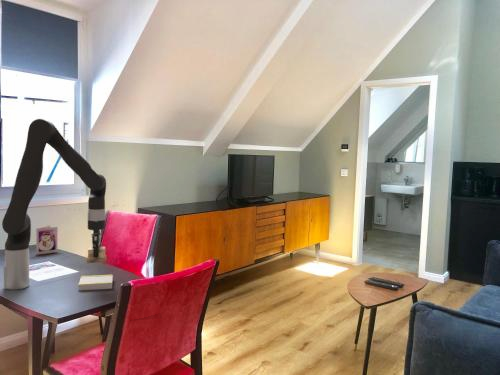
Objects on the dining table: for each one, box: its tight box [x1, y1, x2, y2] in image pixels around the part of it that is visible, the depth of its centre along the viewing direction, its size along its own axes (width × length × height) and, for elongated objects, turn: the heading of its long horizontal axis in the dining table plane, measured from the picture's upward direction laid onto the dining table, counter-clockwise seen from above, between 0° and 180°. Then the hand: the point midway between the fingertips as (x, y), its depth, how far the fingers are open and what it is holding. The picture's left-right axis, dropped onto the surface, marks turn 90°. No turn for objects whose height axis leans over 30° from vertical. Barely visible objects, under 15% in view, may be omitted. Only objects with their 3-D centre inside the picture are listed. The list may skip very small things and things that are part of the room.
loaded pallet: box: [86, 246, 107, 264], centre depth 186 cm, size 8×5×6 cm, turn 108°
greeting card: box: [35, 225, 58, 255], centre depth 240 cm, size 11×7×15 cm, turn 132°
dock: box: [77, 274, 114, 291], centre depth 187 cm, size 14×12×3 cm
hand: (96, 255), depth 186 cm, fingers closed on loaded pallet, 5 cm apart
